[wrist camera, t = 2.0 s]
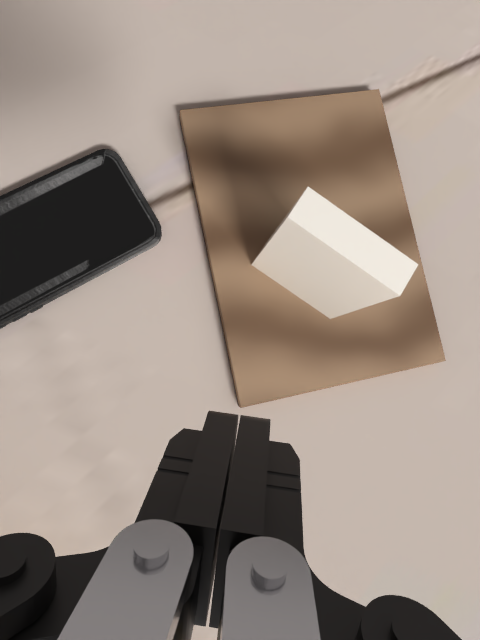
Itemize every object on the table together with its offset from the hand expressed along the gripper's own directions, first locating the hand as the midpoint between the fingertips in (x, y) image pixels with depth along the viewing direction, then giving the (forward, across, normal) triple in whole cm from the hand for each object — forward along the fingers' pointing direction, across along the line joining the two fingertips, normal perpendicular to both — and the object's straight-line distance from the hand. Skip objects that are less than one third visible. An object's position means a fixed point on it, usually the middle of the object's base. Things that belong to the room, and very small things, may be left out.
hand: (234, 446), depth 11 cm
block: (+22, -2, +1) cm, 23 cm away
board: (+25, -3, -1) cm, 25 cm away
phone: (+21, +16, 0) cm, 26 cm away
